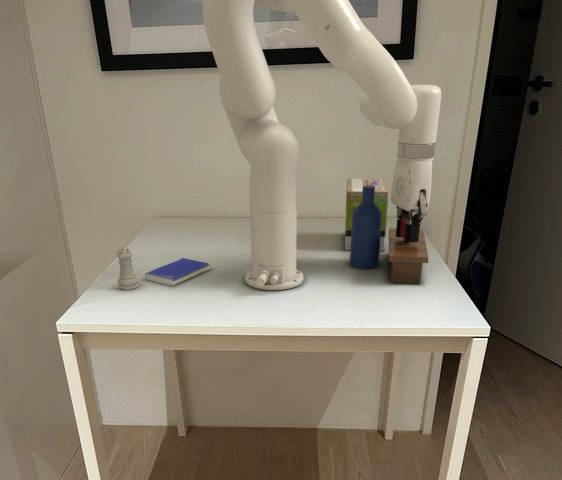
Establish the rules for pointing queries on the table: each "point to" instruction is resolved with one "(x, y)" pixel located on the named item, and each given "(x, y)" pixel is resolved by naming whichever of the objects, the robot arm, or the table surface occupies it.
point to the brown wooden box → (406, 258)
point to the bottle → (366, 231)
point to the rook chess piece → (126, 271)
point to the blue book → (177, 271)
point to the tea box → (355, 199)
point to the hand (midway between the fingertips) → (406, 238)
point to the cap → (403, 227)
